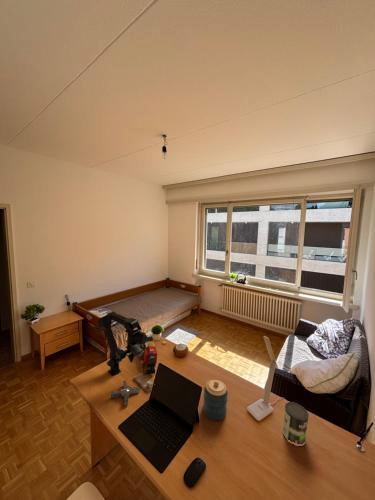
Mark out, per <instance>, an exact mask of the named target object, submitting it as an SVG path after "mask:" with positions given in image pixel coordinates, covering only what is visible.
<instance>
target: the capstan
mask: <svg viewBox="0 0 375 500" xmlns="http://www.w3.org/2000/svg"><path fill="white" fill-rule="evenodd" d="M140 392H141V386H140V385H139V386H134V387H130V386H129V385H127V380H122V387H121V388H120V390H115V391H112V392H110V399H113V398H114V399H115V398H119V397H120V398H121V399H122V400H124V406H128V405H129V397H131V395H132V394H136V393H137V394H138V393H140Z"/></svg>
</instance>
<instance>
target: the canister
mask: <svg viewBox="0 0 375 500" xmlns="http://www.w3.org/2000/svg"><path fill="white" fill-rule="evenodd" d="M228 394H229V392H228V389H227V386H226V384H225V383H224V382H223V381H221V380H218V379H211V380H208V381H207V382H206V383H205V386H204V388H203V402H202V403H203V404H202V410H203V414H204V415H205V416H206V417H207V418H208V419H209V420H211V421H213V422H214V421H215V422H217V421H222V420H223V419H225V417H226V415H227V410H228V409H227V404H228Z"/></svg>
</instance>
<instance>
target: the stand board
mask: <svg viewBox="0 0 375 500" xmlns="http://www.w3.org/2000/svg"><path fill="white" fill-rule="evenodd" d="M133 381H134V382H135V383H136V384H138V385H139V386H140V388H142V389H143V390H144V392H146V393H147V394H150V393H151V392H152V391H151V389H152V386H153V384H154V383H153V382H152V381H151V380H150V379H149V378H148V377H147V376H146V375H145V376H144V373H142V372H140V373H138V374H137V375H135V376H133Z"/></svg>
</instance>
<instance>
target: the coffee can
mask: <svg viewBox="0 0 375 500" xmlns="http://www.w3.org/2000/svg"><path fill="white" fill-rule="evenodd" d="M283 415H284V416H283V426H282V431H283V432H282V434H283V433H284V435H285V437H286V438H287V439H288V440H290V441H291V442H294V443H297V444H303V443H304V442H305V443H306V439H307V431H308V423H309V422H308V421H309V417H310V416H309V412H308V411H307V409H306V408H305V407H304V406H303V405H301V404H300V403H298V402H295V401H288V402H286V403H285V405H284V414H283Z"/></svg>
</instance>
